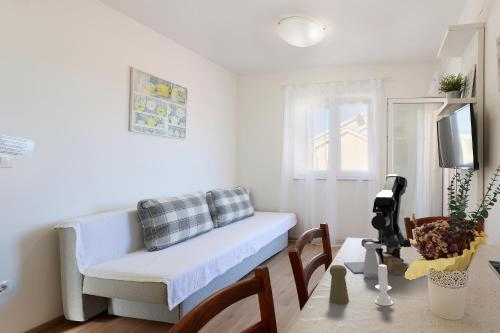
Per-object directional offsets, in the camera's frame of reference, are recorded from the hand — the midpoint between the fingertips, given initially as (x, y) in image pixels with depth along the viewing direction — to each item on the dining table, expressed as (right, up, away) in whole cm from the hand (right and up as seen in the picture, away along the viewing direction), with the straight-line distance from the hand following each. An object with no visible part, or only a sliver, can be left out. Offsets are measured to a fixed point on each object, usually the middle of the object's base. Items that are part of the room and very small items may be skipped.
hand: (386, 263), depth 150 cm
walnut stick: (0, -1, -4) cm, 4 cm away
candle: (-15, -2, -38) cm, 41 cm away
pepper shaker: (-28, -2, -36) cm, 45 cm away
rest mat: (-11, -1, -1) cm, 11 cm away
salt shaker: (-11, -2, -13) cm, 17 cm away
